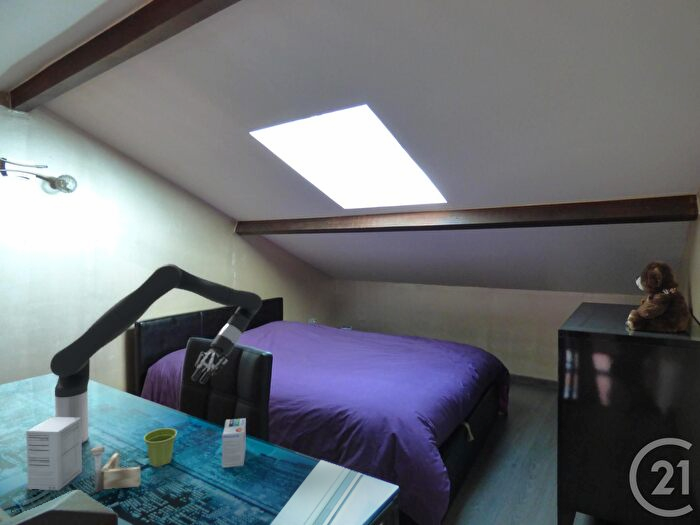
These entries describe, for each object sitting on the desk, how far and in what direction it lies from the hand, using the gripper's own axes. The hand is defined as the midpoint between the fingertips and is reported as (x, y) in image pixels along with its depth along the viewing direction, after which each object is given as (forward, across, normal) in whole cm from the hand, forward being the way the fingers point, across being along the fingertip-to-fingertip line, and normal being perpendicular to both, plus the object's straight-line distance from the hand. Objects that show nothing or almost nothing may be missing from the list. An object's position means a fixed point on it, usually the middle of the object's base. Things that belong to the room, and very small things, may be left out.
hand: (197, 381), depth 133 cm
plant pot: (+25, 0, +6) cm, 26 cm away
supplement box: (+41, -15, -10) cm, 45 cm away
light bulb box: (+14, +17, +17) cm, 28 cm away
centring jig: (+35, 0, -4) cm, 35 cm away
